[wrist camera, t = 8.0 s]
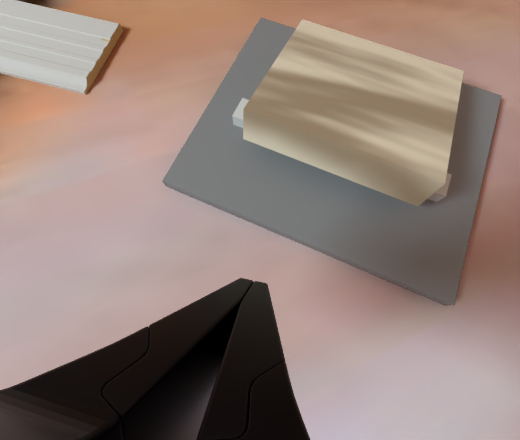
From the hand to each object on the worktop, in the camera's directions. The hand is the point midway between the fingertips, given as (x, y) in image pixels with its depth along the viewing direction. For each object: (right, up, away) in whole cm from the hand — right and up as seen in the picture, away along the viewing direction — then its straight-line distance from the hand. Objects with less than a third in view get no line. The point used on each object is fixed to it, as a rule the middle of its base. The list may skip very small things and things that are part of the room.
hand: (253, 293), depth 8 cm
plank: (+5, +7, +11) cm, 14 cm away
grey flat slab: (+7, +9, +17) cm, 20 cm away
